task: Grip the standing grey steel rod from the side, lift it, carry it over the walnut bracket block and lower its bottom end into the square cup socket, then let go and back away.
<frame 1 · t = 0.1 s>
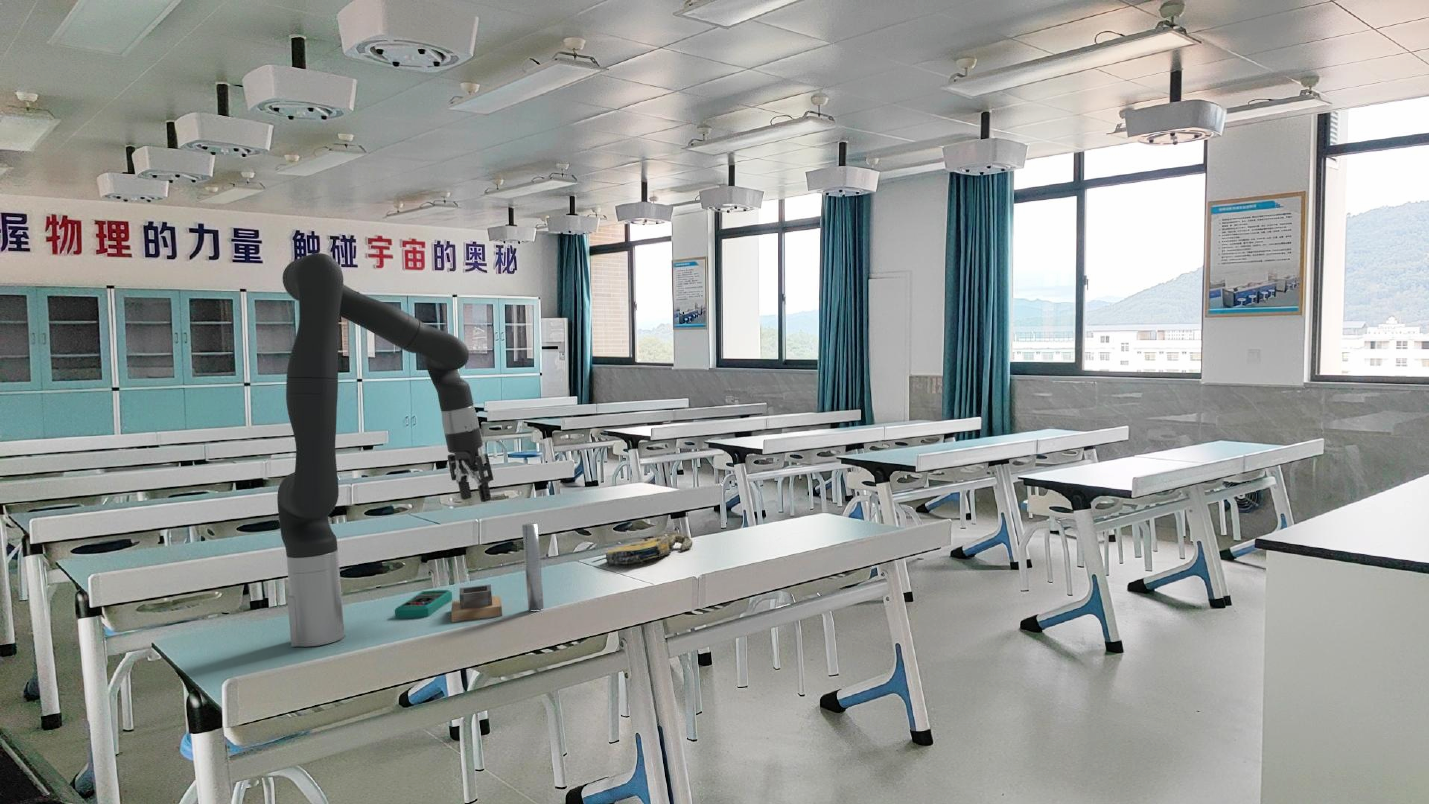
hand: (476, 499, 207), 22 cm above the table, tool pointing down, fingers open, 8 cm apart
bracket: (477, 613, 197), on the table
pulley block: (651, 559, 243), on the table
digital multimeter: (424, 611, 204), on the table
rod: (536, 609, 196), on the table
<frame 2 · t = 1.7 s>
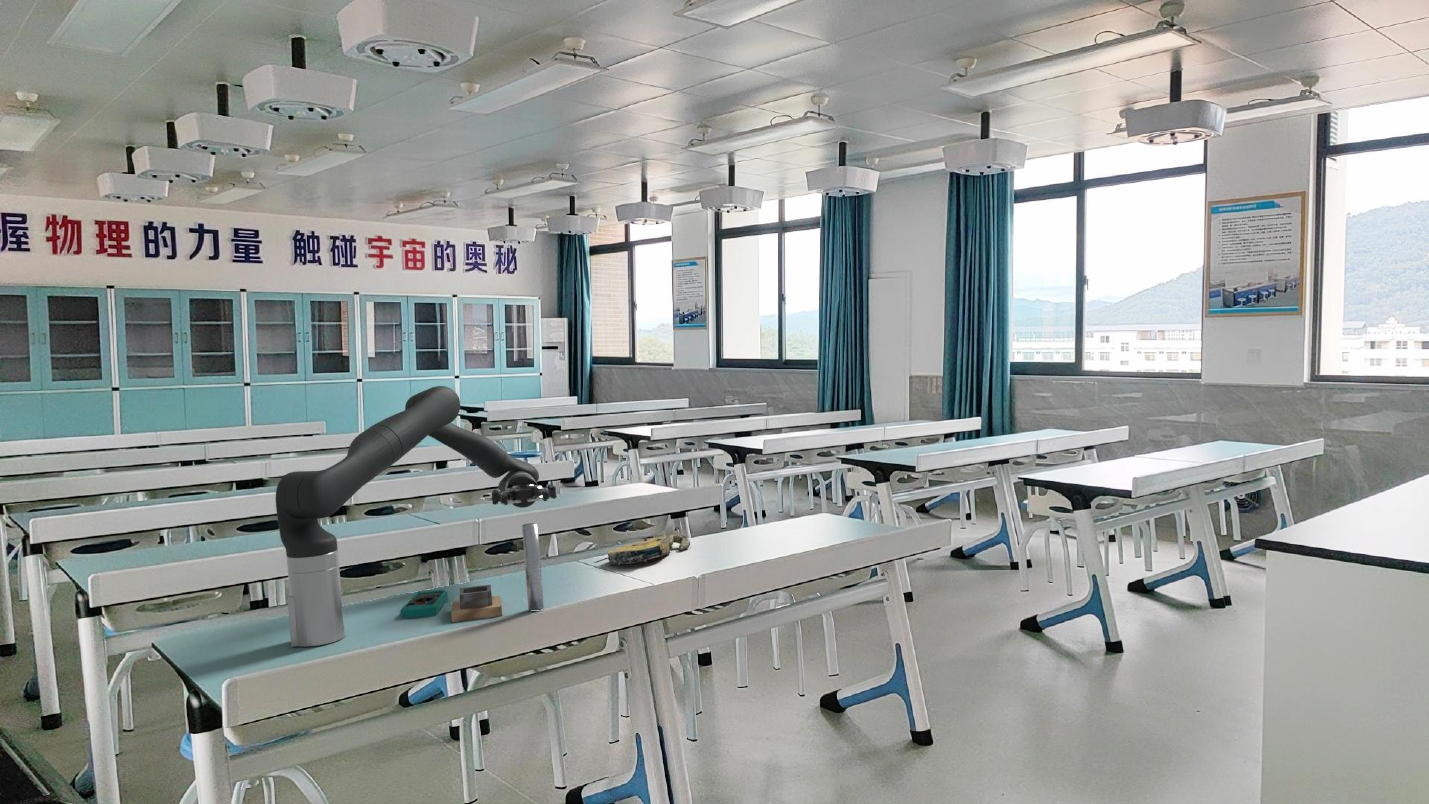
hand: (525, 498, 207), 22 cm above the table, tool horizontal, fingers open, 8 cm apart
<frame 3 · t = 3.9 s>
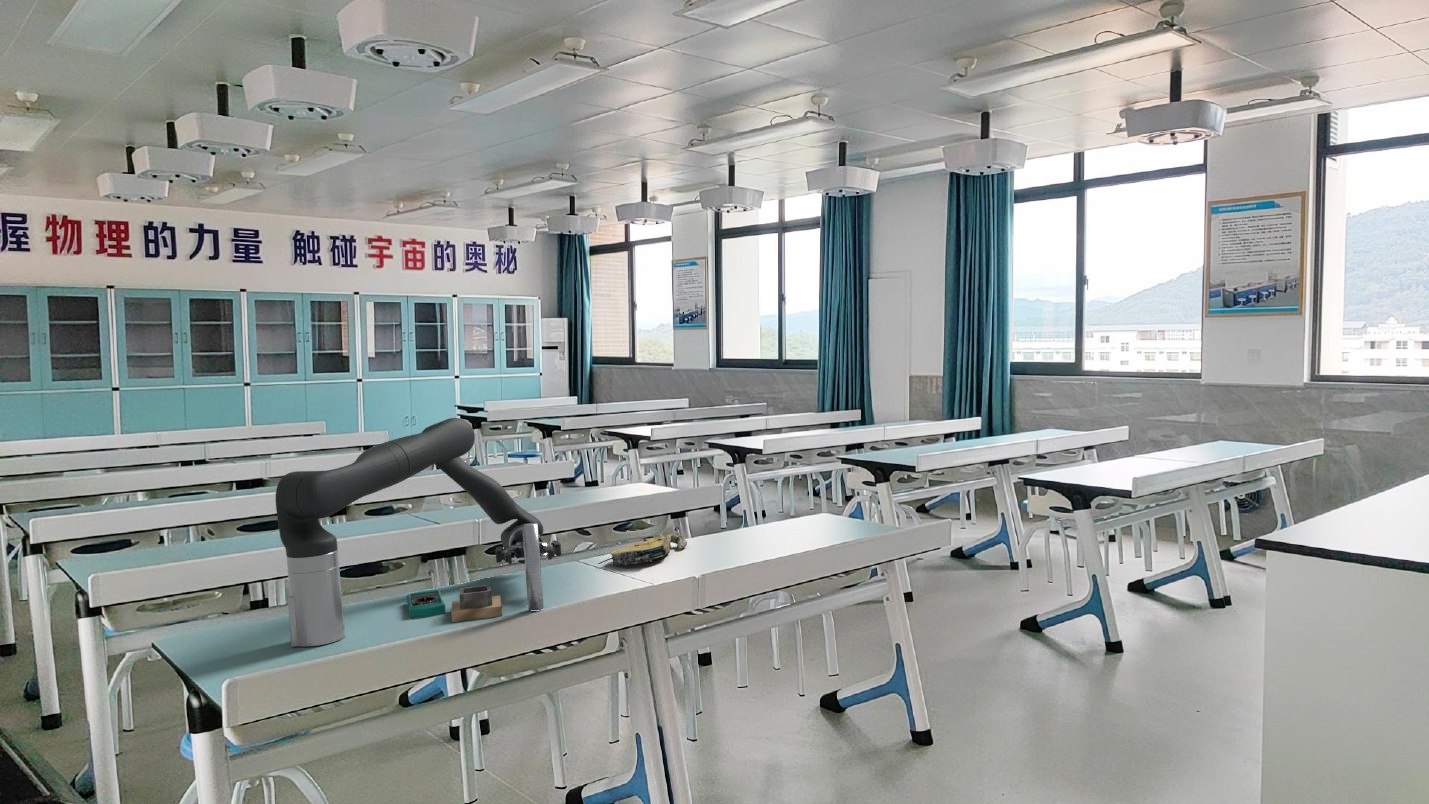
hand: (530, 557, 202), 10 cm above the table, tool horizontal, fingers open, 8 cm apart
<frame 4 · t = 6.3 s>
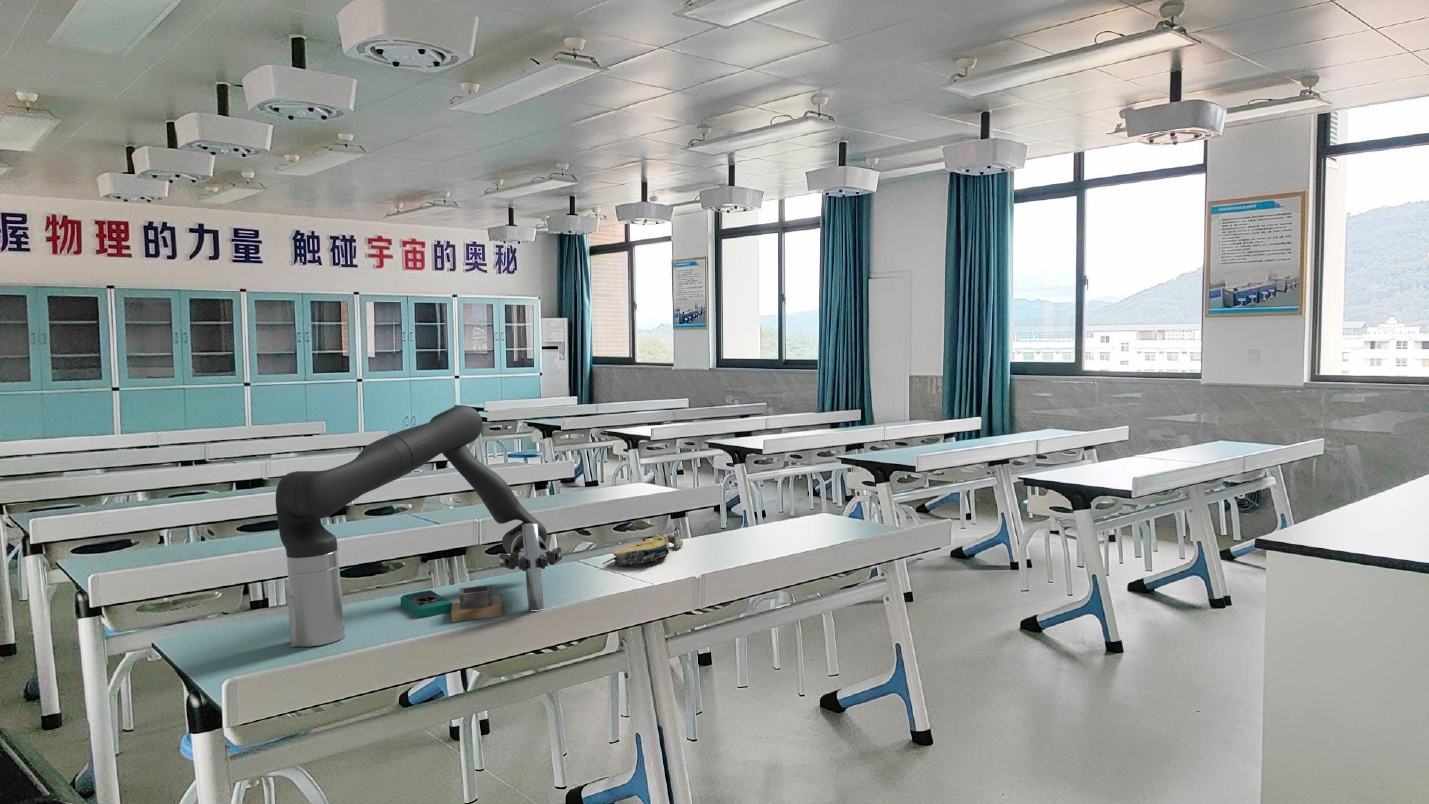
hand: (533, 564, 193), 10 cm above the table, tool horizontal, fingers closed on rod, 3 cm apart
rod: (536, 609, 196), on the table, touching gripper
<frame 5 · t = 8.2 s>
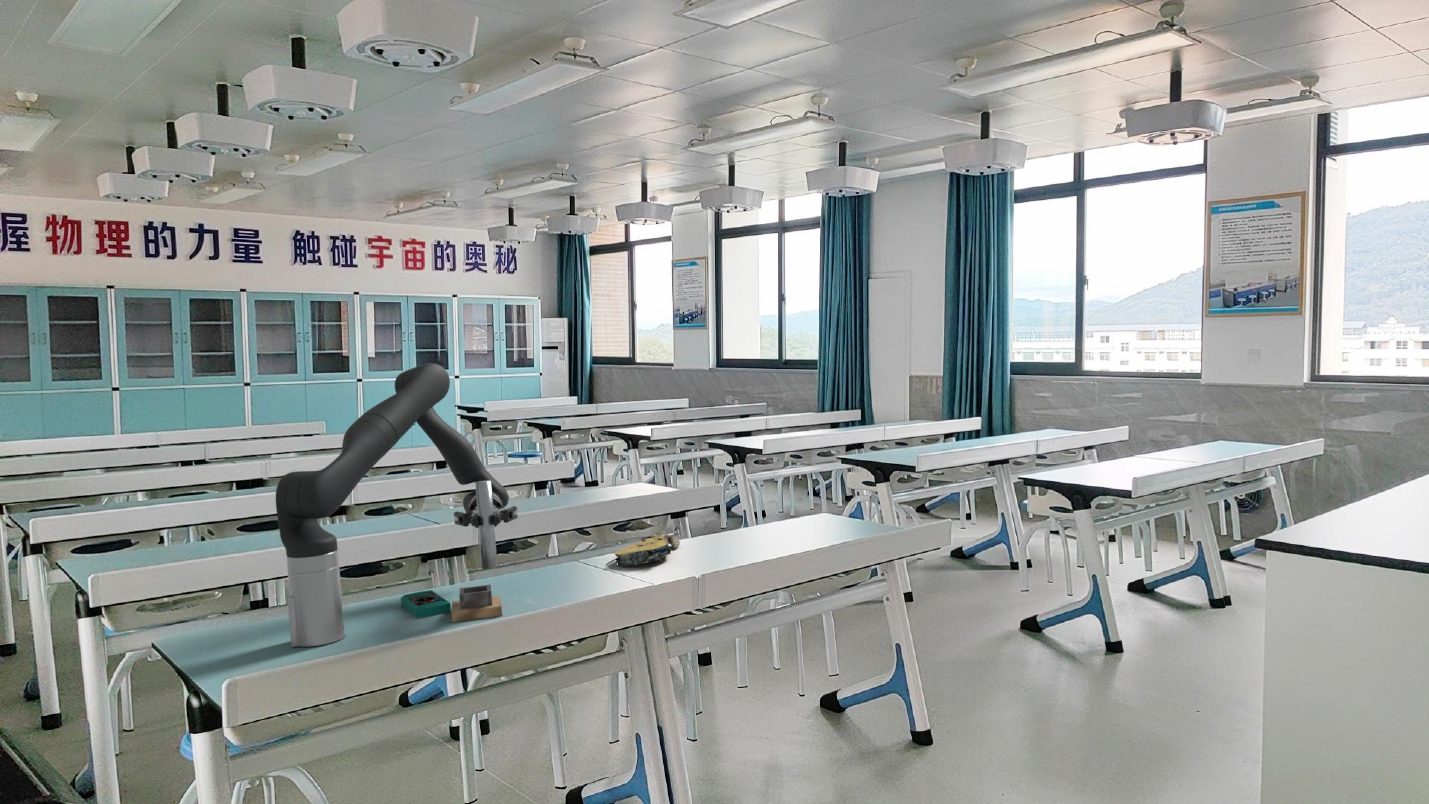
hand: (486, 521, 193), 20 cm above the table, tool horizontal, fingers closed on rod, 3 cm apart
rod: (489, 567, 196), point 10 cm above the table, touching gripper
when the fingers open (13 cm above the table, at t = 10.5 s): rod stays where it is, resting on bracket.
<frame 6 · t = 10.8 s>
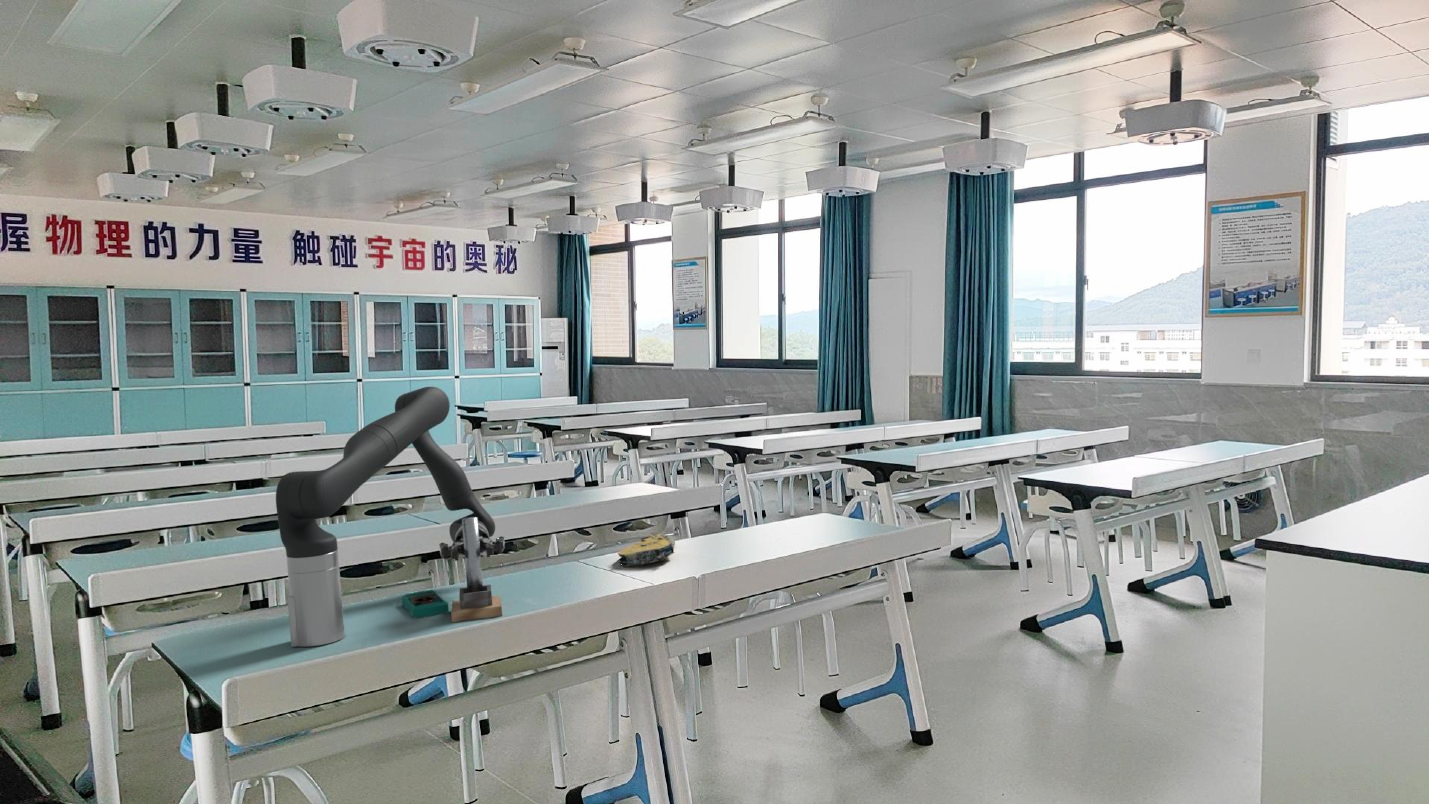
hand: (472, 553, 194), 13 cm above the table, tool horizontal, fingers open, 6 cm apart
rod: (476, 603, 197), point 2 cm above the table, touching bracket
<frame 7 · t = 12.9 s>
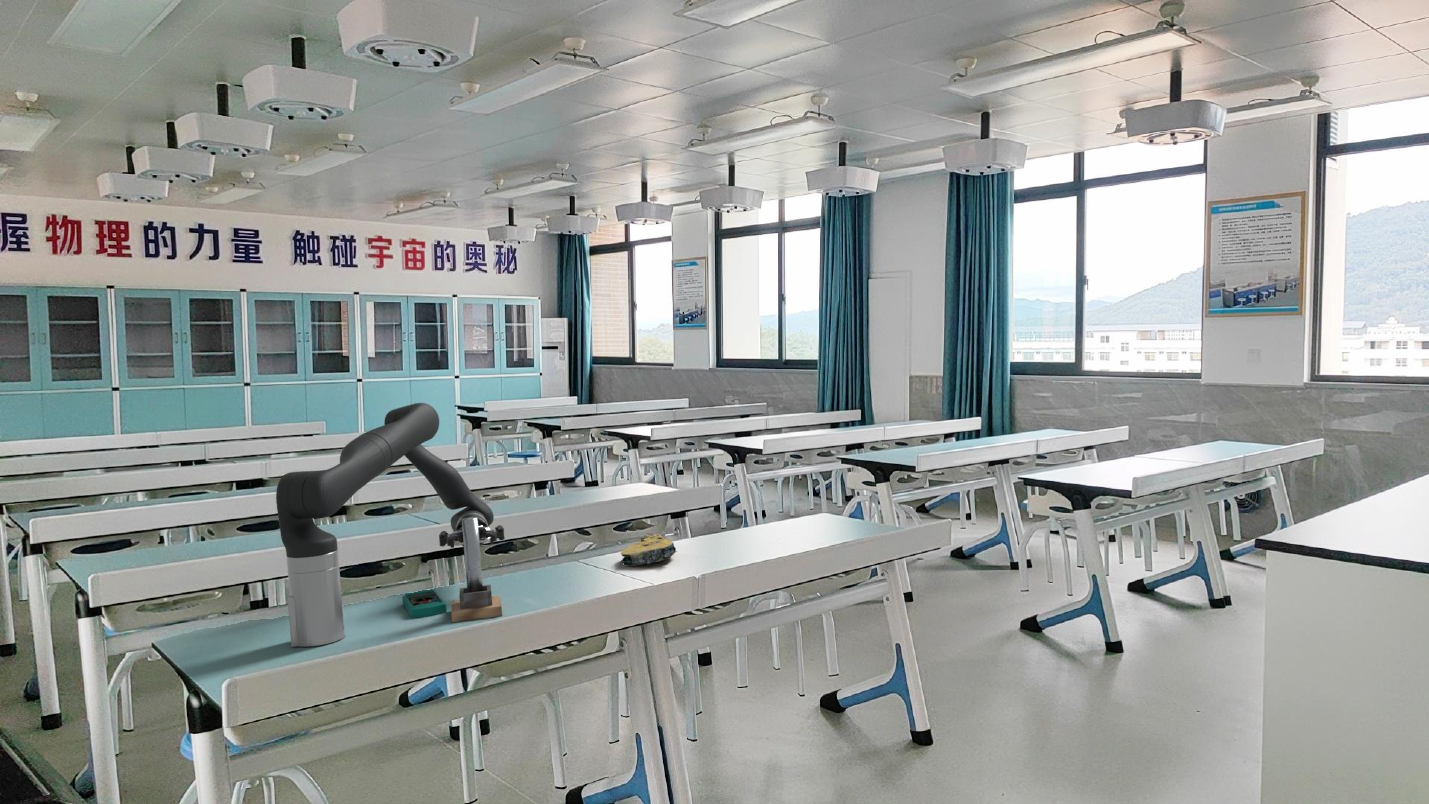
hand: (472, 540, 207), 13 cm above the table, tool horizontal, fingers open, 8 cm apart
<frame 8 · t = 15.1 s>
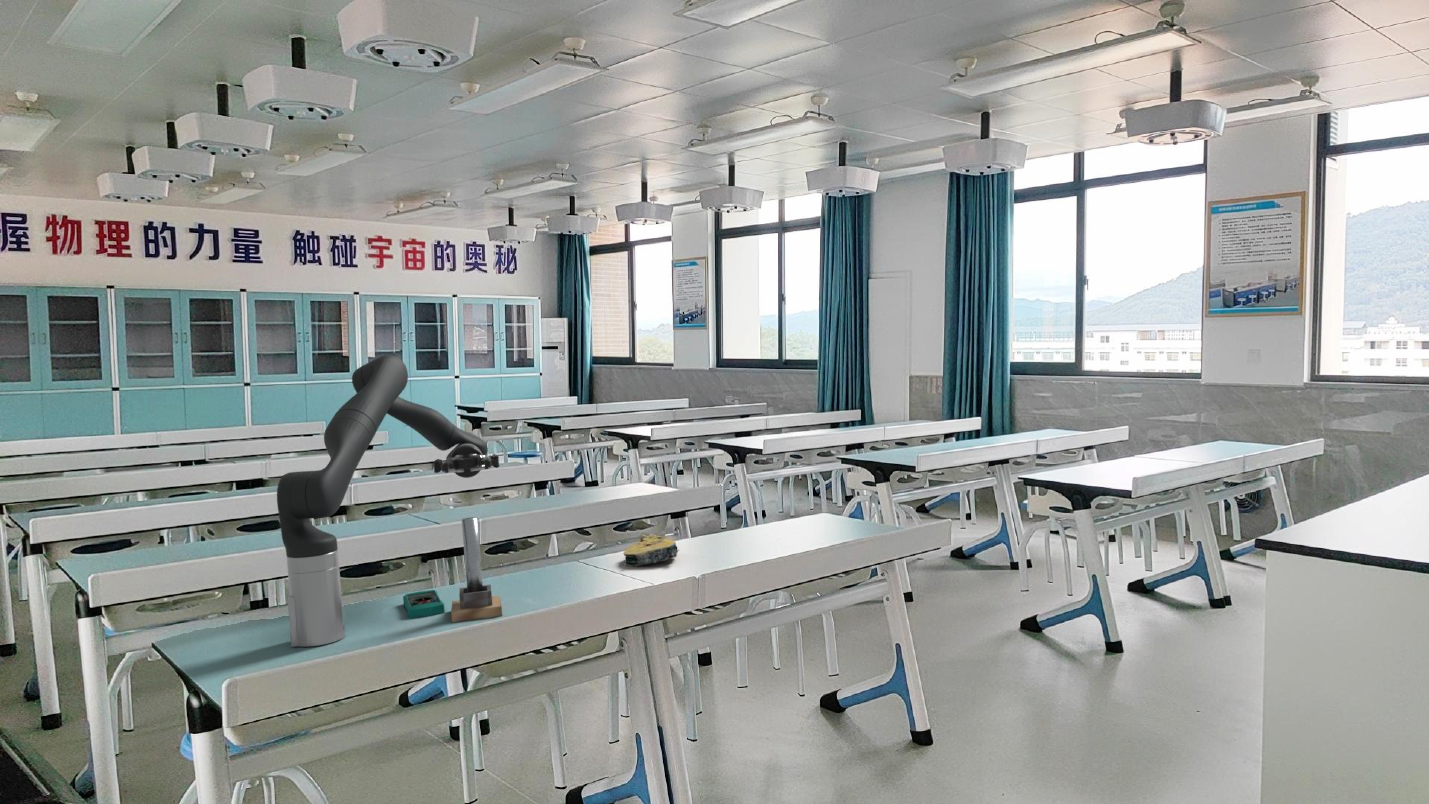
hand: (466, 466, 206), 30 cm above the table, tool horizontal, fingers open, 8 cm apart
at the end: rod 0.1 cm off-centre on the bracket, point 2.0 cm above the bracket's base; rod tilted 0°; the gripper is holding nothing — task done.
